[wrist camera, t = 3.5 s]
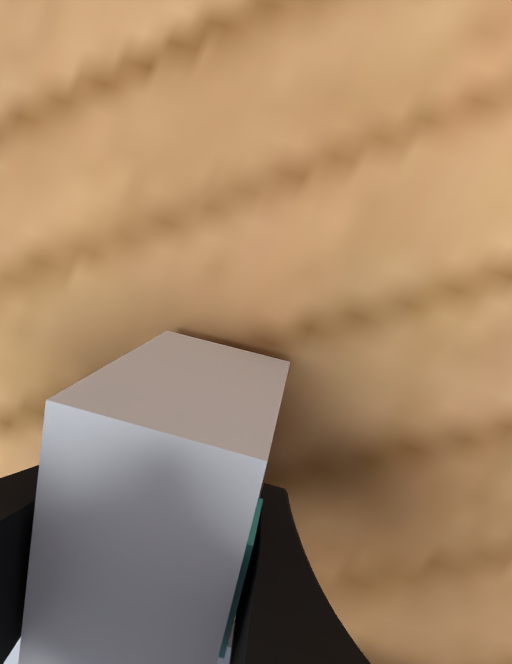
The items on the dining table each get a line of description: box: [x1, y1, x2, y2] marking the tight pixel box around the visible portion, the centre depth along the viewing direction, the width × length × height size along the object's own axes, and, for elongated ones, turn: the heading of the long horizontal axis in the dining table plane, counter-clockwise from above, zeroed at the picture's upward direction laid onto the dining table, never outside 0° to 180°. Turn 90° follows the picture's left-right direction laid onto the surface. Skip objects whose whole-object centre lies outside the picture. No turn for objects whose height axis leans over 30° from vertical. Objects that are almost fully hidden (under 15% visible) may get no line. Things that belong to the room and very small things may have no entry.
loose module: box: [18, 331, 290, 664], centre depth 11 cm, size 4×8×6 cm, turn 167°
